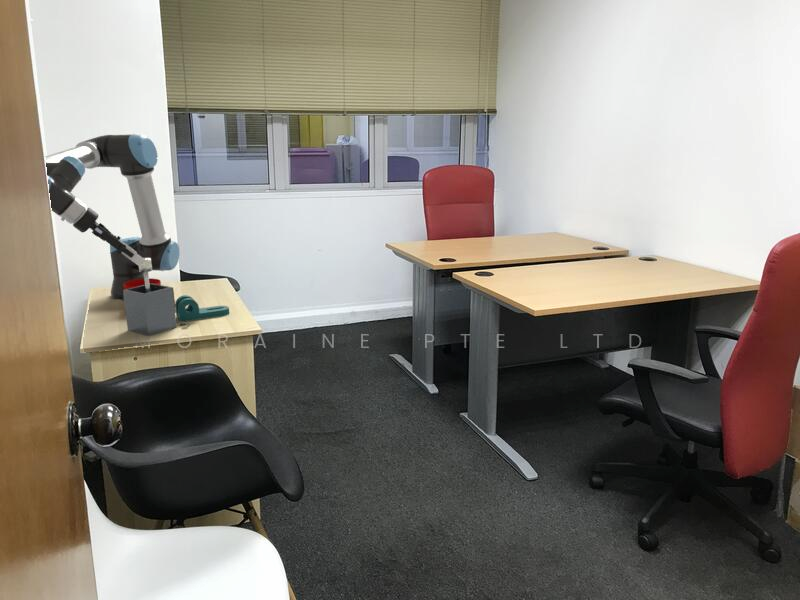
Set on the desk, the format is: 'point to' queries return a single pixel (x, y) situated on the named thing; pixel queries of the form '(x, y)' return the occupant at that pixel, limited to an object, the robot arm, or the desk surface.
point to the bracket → (196, 310)
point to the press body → (150, 309)
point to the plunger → (146, 271)
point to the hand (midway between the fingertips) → (137, 258)
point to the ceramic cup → (140, 283)
